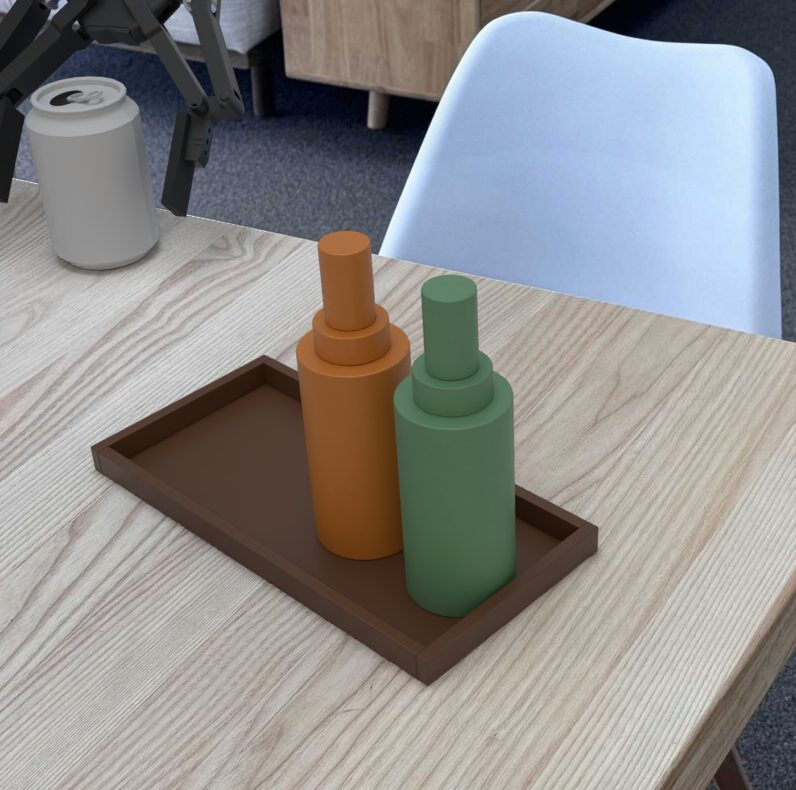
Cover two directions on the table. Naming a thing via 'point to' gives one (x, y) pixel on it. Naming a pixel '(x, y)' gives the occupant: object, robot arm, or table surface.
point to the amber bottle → (352, 405)
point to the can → (92, 172)
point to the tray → (295, 522)
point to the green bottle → (455, 459)
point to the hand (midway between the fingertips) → (82, 203)
